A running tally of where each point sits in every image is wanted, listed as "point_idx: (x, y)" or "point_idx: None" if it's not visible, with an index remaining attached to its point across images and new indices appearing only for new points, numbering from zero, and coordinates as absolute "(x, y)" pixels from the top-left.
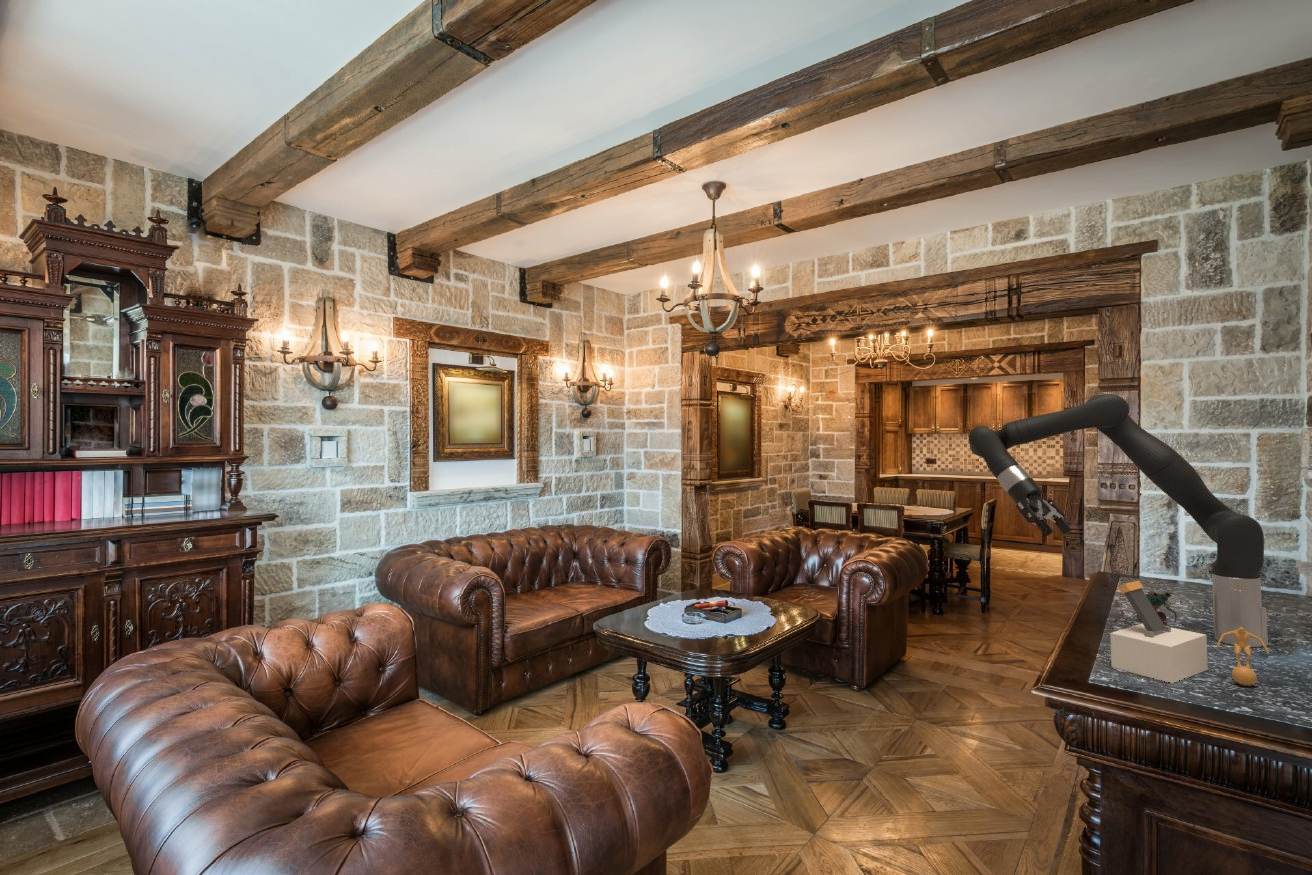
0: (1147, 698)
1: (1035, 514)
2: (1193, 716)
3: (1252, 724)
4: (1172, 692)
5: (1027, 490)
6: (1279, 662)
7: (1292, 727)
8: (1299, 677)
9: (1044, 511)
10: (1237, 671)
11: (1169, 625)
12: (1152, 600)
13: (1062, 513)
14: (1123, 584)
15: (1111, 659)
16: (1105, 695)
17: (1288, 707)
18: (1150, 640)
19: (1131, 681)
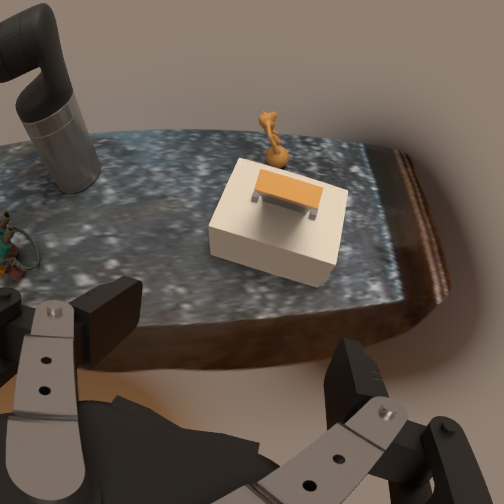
0: (402, 239)
1: (440, 440)
2: (412, 204)
3: (390, 169)
4: (363, 219)
5: None
6: (152, 141)
7: (371, 148)
8: (205, 130)
9: (210, 440)
10: (286, 157)
11: (33, 241)
12: (10, 241)
13: (4, 301)
14: (321, 193)
15: (321, 283)
16: (427, 274)
17: (320, 143)
18: (334, 212)
19: (360, 258)
